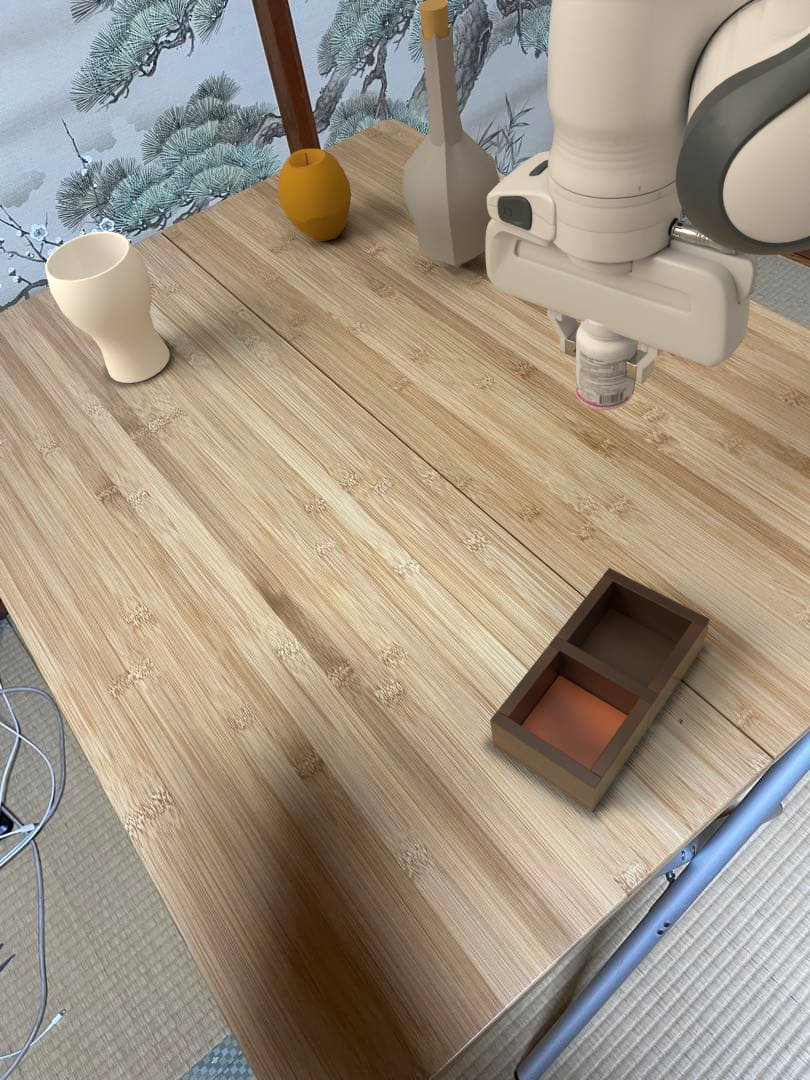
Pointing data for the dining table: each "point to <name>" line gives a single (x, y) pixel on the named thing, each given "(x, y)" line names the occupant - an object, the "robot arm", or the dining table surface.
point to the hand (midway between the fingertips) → (604, 363)
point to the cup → (109, 302)
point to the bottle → (446, 158)
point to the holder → (598, 686)
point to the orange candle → (315, 193)
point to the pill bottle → (603, 366)
